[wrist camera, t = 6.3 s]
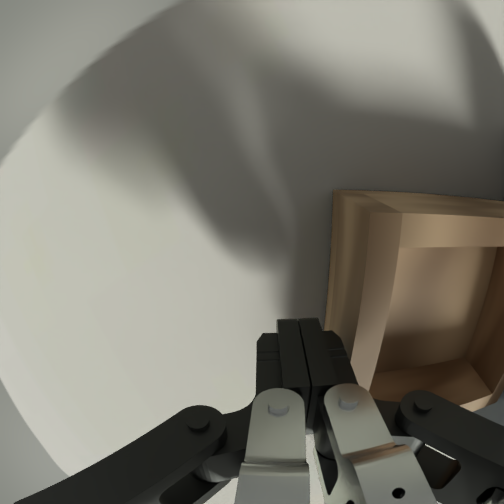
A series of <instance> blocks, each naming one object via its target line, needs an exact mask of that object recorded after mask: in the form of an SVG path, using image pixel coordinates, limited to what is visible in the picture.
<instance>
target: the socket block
mask: <svg viewBox="0 0 504 504" xmlns="http://www.w3.org/2000/svg"><path fill="white" fill-rule="evenodd" d="M330 330H332V331H334V332H335V333H336V334H337V335H338V336H339V337H340V338H341V340H342V342H343V345H344V347H345V348H344V349H345V350H346V352H347V357H348V358H349V360H350V363H351V366H352V368H353V371H354V374H355V376H356V379H357V382H358V384H359V386H361V387H363V388H365V389H366V390H367V391H368V392H369V393H370V394H371V396H372V398H374V399H378V400H383V401H394V402H401V400H402V398H403V397H404V396H405V395H406V394H407V393H409V392H411V391H415V390H425V391H429V392H432V393H434V394H436V395H438V396H440V397H442V398H444V399H446V400H448V401H450V402H452V403H454V404H457V405H459V406H461V407H463V408H465V409H467V410H469V411H471V412H473V411H476V410H478V409H481V408H484V407H486V406H489V405H491V404H494V403H496V402H497V401H498V399H499V397H500V395H501V394H502V392H503V390H504V201H497V200H488V199H479V198H470V197H459V196H448V195H436V194H423V193H407V192H389V191H365V190H333V209H332V234H331V252H330V268H329V281H328V293H327V305H326V315H325V324H324V331H330Z"/></svg>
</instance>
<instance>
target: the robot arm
mask: <svg viewBox="0 0 504 504" xmlns="http://www.w3.org/2000/svg"><path fill="white" fill-rule="evenodd" d="M344 348H345V347H344V345H343V342H342V340H341V338H340V337H339V336H338V335H337V334H336V333H335V332H334V331H332V330H330V331H322V329H321V326H320V322H319V319H318V318H303V319H298V320H297V319H277V332H276V333H263V334H262V335H261V337H260V338H259V339H258V341H257V362H256V395H255V398H254V399H253V401H252V402H251V403H250V404H249V405H248V406H247V407H245V408H243V409H241V410H239V411H236V412H232V413H227V414H223V415H222V414H221V413H220V412H219V411H218V410H216V409H215V408H212V407H209V406H204V405H196V406H191V407H188V408H185V409H183V410H181V411H180V412H178V413H177V414H175V415H174V416H172V417H171V418H169V419H168V420H166V421H165V422H163V423H162V424H160V425H159V426H157V427H156V428H154V429H152V430H151V431H149V432H148V433H146V434H144V435H143V436H141V437H140V438H138V439H136V440H135V441H133V442H131V443H130V444H128V445H126V446H125V447H123V448H121V449H120V450H118V451H116V452H115V453H113V454H111V455H109V456H108V457H106V458H104V459H102V460H101V461H99V462H97V463H95V464H93V465H91V466H90V467H88V468H86V469H84V470H82V471H80V472H78V473H76V474H74V475H73V476H71V477H69V478H67V479H65V480H63V481H61V482H59V483H57V484H55V485H52V486H50V487H48V488H46V489H44V490H42V491H40V492H37V493H35V494H33V495H31V496H28V497H26V498H24V499H21V500H19V501H17V502H15V503H14V504H203V503H205V502H206V501H207V500H208V499H210V498H211V497H212V496H213V495H215V494H216V493H217V492H218V491H219V490H221V489H222V488H223V487H224V486H225V485H227V484H228V483H229V482H230V481H231V479H233V478H237V477H239V478H238V484H237V490H236V497H235V503H234V504H310V474H309V465H308V463H307V462H306V435H307V434H314V440H315V445H314V449H313V455H314V459H315V463H316V467H317V471H318V476H319V480H320V484H321V488H322V492H323V497H324V504H438V503H437V501H438V502H440V503H442V504H504V426H502V425H500V424H498V423H496V422H493V421H491V420H489V419H487V418H484V417H482V416H480V415H478V414H476V413H474V412H471V411H469V410H467V409H465V408H463V407H461V406H459V405H457V404H454V403H452V402H450V401H448V400H446V399H444V398H442V397H440V396H438V395H436V394H434V393H432V392H429V391H425V390H415V391H411V392H409V393H407V394H406V395H405V396H404V397H403V398H402V400H401V402H394V401H383V400H378V399H374V398H372V396H371V394H370V393H369V392H368V391H367V390H366V389H365V388H363V387H361V386H359V384H358V382H357V379H356V376H355V374H354V371H353V368H352V366H351V363H350V360H349V358H348V357H347V352H346V350H345V349H344ZM425 444H427V445H429V446H431V447H433V448H435V449H437V450H439V451H441V452H443V453H444V454H446V455H448V456H450V457H452V458H454V459H456V460H453V459H450V458H448V457H446V456H444V455H442V454H441V453H439V452H437V451H435V450H433V449H431V448H429V447H427V446H425Z"/></svg>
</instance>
